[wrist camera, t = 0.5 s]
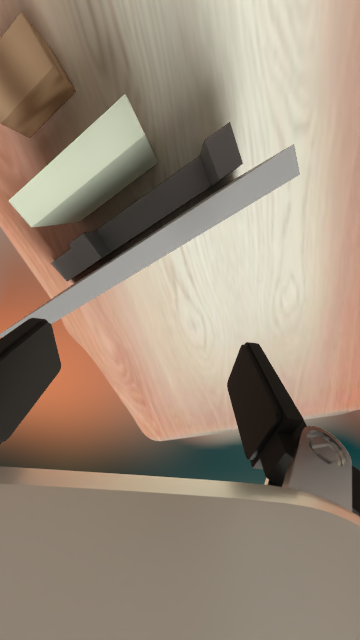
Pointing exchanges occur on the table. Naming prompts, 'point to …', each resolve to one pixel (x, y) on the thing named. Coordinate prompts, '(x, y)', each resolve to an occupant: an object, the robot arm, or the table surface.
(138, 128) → the door
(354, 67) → the table surface
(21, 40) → the walnut block
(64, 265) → the grey upright panel
